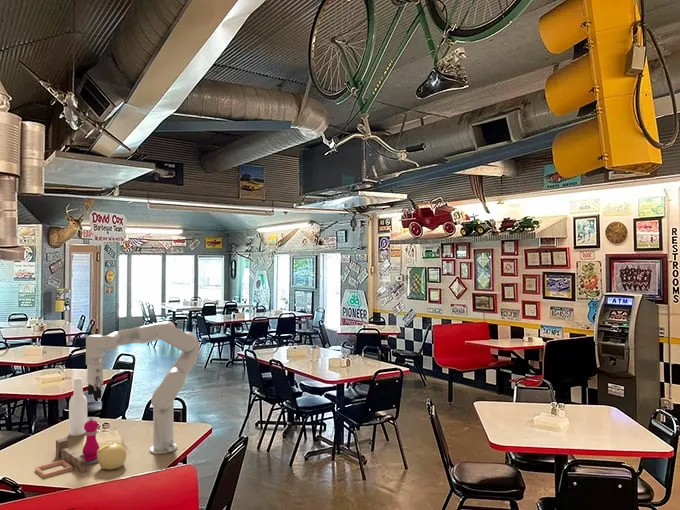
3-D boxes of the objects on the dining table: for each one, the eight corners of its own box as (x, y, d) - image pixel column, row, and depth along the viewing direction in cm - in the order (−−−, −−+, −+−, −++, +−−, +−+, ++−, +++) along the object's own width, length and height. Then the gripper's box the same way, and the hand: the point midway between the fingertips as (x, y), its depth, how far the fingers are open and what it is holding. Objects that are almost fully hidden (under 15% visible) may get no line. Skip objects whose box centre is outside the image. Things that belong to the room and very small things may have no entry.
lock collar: (72, 469, 224) (72, 466, 224) (44, 478, 215) (44, 474, 215) (63, 462, 232) (63, 459, 232) (35, 470, 223) (35, 467, 223)
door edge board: (88, 470, 223) (88, 452, 223) (78, 473, 220) (78, 455, 220) (64, 454, 242) (64, 438, 242) (55, 457, 239) (55, 440, 239)
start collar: (108, 459, 236) (108, 456, 236) (83, 466, 227) (83, 463, 227) (98, 452, 243) (98, 449, 243) (73, 460, 235) (73, 456, 235)
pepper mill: (80, 463, 231) (80, 420, 231) (84, 457, 238) (84, 415, 238) (97, 461, 233) (97, 418, 233) (101, 455, 240) (100, 414, 240)
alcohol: (69, 432, 274) (69, 377, 274) (87, 429, 277) (87, 375, 278) (68, 437, 266) (68, 380, 266) (86, 434, 269) (86, 379, 270)
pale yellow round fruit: (118, 459, 235) (118, 436, 235) (131, 466, 227) (131, 442, 227) (93, 467, 226) (93, 443, 226) (106, 474, 219) (106, 450, 219)
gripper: (108, 362, 236) (108, 398, 236) (97, 357, 249) (97, 391, 249) (91, 364, 231) (91, 401, 231) (81, 359, 244) (81, 394, 244)
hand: (94, 396), depth 240 cm, fingers open, 9 cm apart
